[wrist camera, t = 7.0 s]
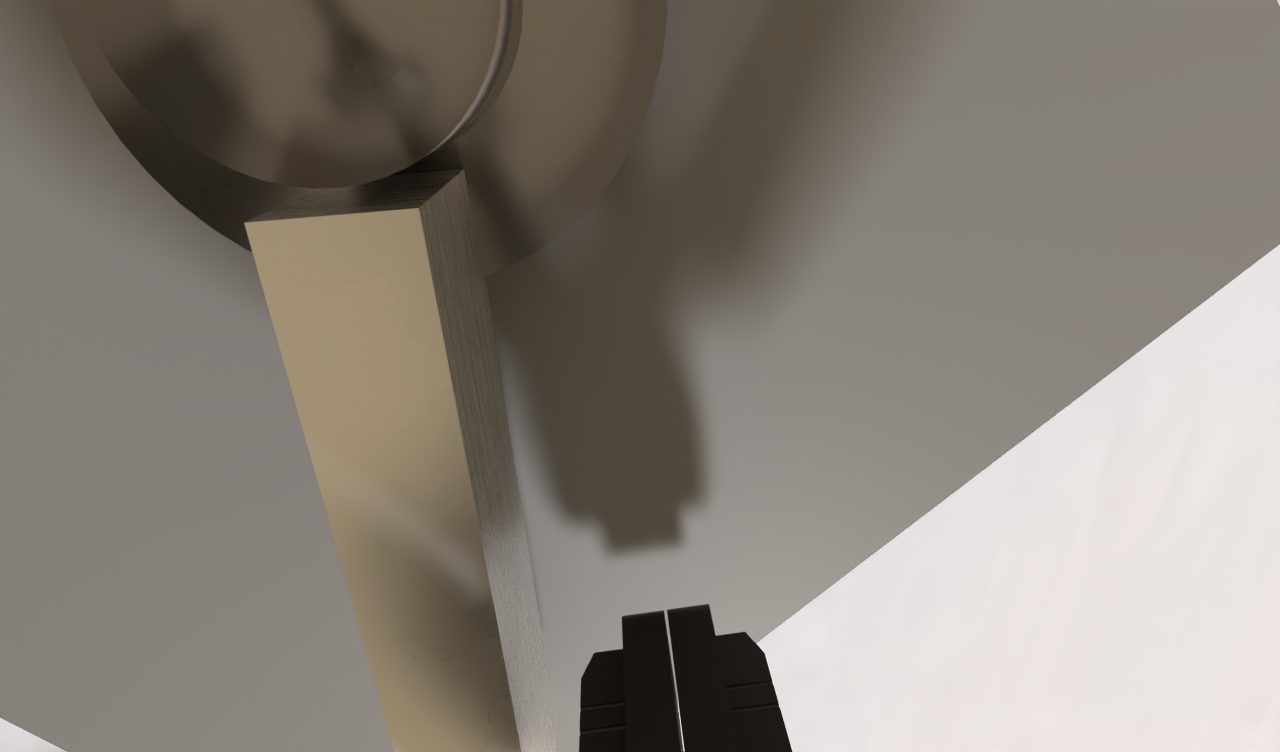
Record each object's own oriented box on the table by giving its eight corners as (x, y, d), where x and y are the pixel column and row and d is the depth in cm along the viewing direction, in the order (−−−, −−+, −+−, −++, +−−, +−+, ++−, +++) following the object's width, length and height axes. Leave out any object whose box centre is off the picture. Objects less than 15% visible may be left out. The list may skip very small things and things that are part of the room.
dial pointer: (4, -328, 8) (-455, -635, 5) (639, -366, 8) (677, -687, 5) (335, 711, 14) (251, 929, 11) (696, 673, 14) (731, 875, 11)
